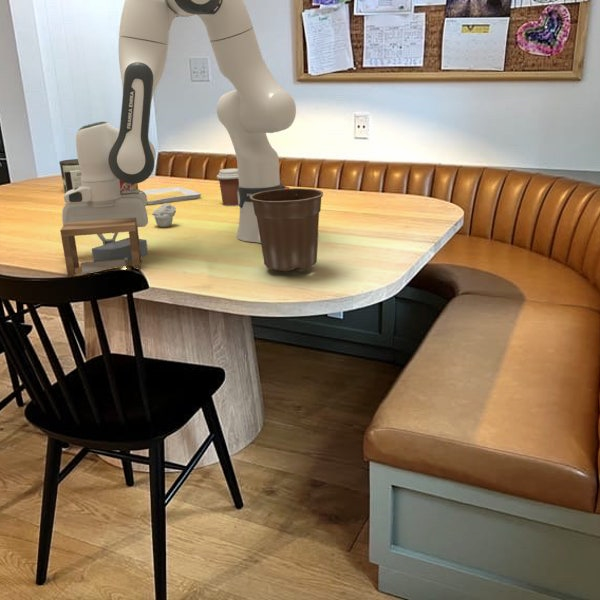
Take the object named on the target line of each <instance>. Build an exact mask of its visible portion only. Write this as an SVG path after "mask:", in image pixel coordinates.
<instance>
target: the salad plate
mask: <svg viewBox="0 0 600 600" xmlns="http://www.w3.org/2000/svg"><path fill="white" fill-rule="evenodd" d="M142 191H143V192H144V193H145V194H146V196H147V195H155V194H163V193H169V192H179V193H180V194H182V195H178V196H172V197H170V196H169V197H164V198H158V199H154V200H147V205H146V206H152V205H153V206H154V205H160V204H161V205H162V204H165V203H168V204H169V203H174V202H181V201H191V200H196V199H199V198H200V197H201V196H202V193H201V192H198V191H195V190H192V189H189V188H188V189H187V188H185V187H181V186H174V187H173V186H172V187H162V188H154V189H153V188H152V189H147V190H146V189H145V190H142ZM140 193H141V192H140Z"/></svg>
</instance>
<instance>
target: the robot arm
mask: <svg viewBox="0 0 600 600" xmlns="http://www.w3.org/2000/svg"><path fill="white" fill-rule="evenodd" d="M194 15H196V16H197V17H198V18H200V20H201V22H202V23H203V25H204V26H205V28H206V31H207V35H208V39H209V41H210V46H211V47H212V51H213V54H214V57H215V61H216V62H217V63H216V64H217V66H218V69H219V71H220V73H221V74H222V75H223V77H224V78H226V79H227V80H228V81H229V82H230V83H231V84H232V86H233V87H234V89H233V90H230V91H228V92H226V93H223V94H222V95H221V96H220V97H219V99H218V100H217V101H218V102H217V104H216V115H217V117H218V120H219V122H220V123H221V124H222V125H223V127H224V128H225V130H226V131H227V133H228V136H229V137H230V140H231V143H232V147H233V150H234V153H235V157H236V163H237V164H236V166H237V169H238V177H239V186H238V191H237V193H238V205H239V206H238V207H239V220H238V228H237V233H236V238H237V240H240V241H244V242H249V243H250V242H252V243H257V244H261V240H260V234H259V228H258V222H257V217H256V215H255V213H254V207H253V202H252V200H251V199H250V196H251V195H253V194H255V193H258V192H263V191H269V190H277V189H291V188H290V187H289V186H286V185H284V184H282V183H281V178H280V162H279V161H280V160H279V159H280V157H279V155H278V152H277V151H276V150H275V149H274V148H273V147H272V145H271V143H270V141H269V138H268V136H267V134H274V133H279V132H282V131H285V130H287V129H289V128H290V127H291V126H292V125H293V123H294V122H295V119H296V115H297V108H296V102H295V100H294V98H293V97H292V94H290V93H289V92H287V91H286V90H284V89H283V87H281V86H280V84H279V83H278V82H277V80H276V79H275V77H274V76H273V74H272V72H271V71H270V69H269V68H268V66H267V64H266V62H265V59H264V57H263V55H262V53H261V48H260V46H259V43H258V39H257V37H256V34H255V29H254V27H253V22H252V19H251V16H250V14H249V11H248V9H247V7H246V5H245V2H244V0H124V3H123V7H122V13H121V17H120V23H119V24H120V25H119V31H118V62H119V71H120V79H121V84H122V85H121V86H122V101H121V112H120V122H119V123H120V124H119V128H118V127H115V126H113V125H112V124H111V123H109V122H108V121H98V122H94V123H93V122H92V123H89V124H87V125H83V126H81V127H80V128H79V129H78V130H77V131H76V136H75V142H76V143H75V145H76V154H77V159H78V163H79V165H80V167H81V171H82V176H81V183H82V186H80V187H77V188H74V189H72V190H69V191H68V192H66V193H65V192H64V194H63V200H64V202H65V204H64V206H63V208H62V214H61V215H62V219H61V220H62V227H63V226H64V224H65V223H70V222H84V221H97V220H111V219H124V218H136V219H137V227H138V228H144V227H146V226H147V225H148V224H149V217H148V212H147V211H148V210H147V209H146V207H147V206H148V205H147V201H148V197H147V195H146V194H145V193H144V192H143V191H144V190H140V189H139V188H138V189H134V190H120V182H119V180H121V181H123V182H125V183H129V184H137V183H138V184H140V183H143V182H145V181H146V180H147V179H150V177H151V175H152V173H153V172H154V169H155V161H156V150H155V147H154V145H153V143H152V142H151V141H150V139H149V130H150V121H151V120H150V119H151V109H152V103H153V102H152V101H153V97H154V94H155V90H156V88H157V86H158V84H159V83H160V80H161V78H162V76H163V73H164V71H165V70H164V69H165V67H166V62H167V60H168V59H167V58H168V51H169V41H170V40H169V39H170V31H171V26H172V24H173V21H174V19H175V18H178V17H181V18H182V17H184V18H186V17H187V18H188V17H189V18H190V17H192V16H194ZM140 192H141V193H140ZM121 194H122V197H121ZM118 234H119V232H118V233H113V237H112V238H106V237H105V235H104V234H96V236H97V237H98V238H99V239H100V240H101V242H102V245H106V244H109V243H112V242H116V239H117V237H118Z"/></svg>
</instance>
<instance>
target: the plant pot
mask: <svg viewBox="0 0 600 600" xmlns="http://www.w3.org/2000/svg"><path fill="white" fill-rule="evenodd" d="M323 196H324V191H322V190H320V189H315V188H301V187H300V188H298V187H297V188H295V187H294V188H290V189H277V190H269V191H263V192H258V193H255V194H253V195H251V196H250V199H251V200H252V202H253V207H254V213H255V215H256V217H257V222H258V228H259V234H260V240H261V243H260V244H261V245H260V246H261V253H262V258H263V264H264V266H265V267H266V268H267V269H270V270H274V271H280V272H281V271H294V270H295V269H297V268H298V269H300V270H304V269H308V268H311V267H313V266H315V265H316V264H317V262H318V242H319V239H318V238H319V223H320V221H319V220H320V219H319V217H320V212H321V209H322V208H321V207H322V197H323Z"/></svg>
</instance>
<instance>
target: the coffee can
mask: <svg viewBox="0 0 600 600" xmlns="http://www.w3.org/2000/svg"><path fill="white" fill-rule="evenodd" d="M58 163H59V167H60V174H61V179H62V185H63V186H62V187H63V193H64V194H65V193H66V192H67V187H66V181H65V174H64V172H70V171H78V170H81V167H80V165H79V163H78V158H73V159H65V160H59V162H58Z"/></svg>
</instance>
